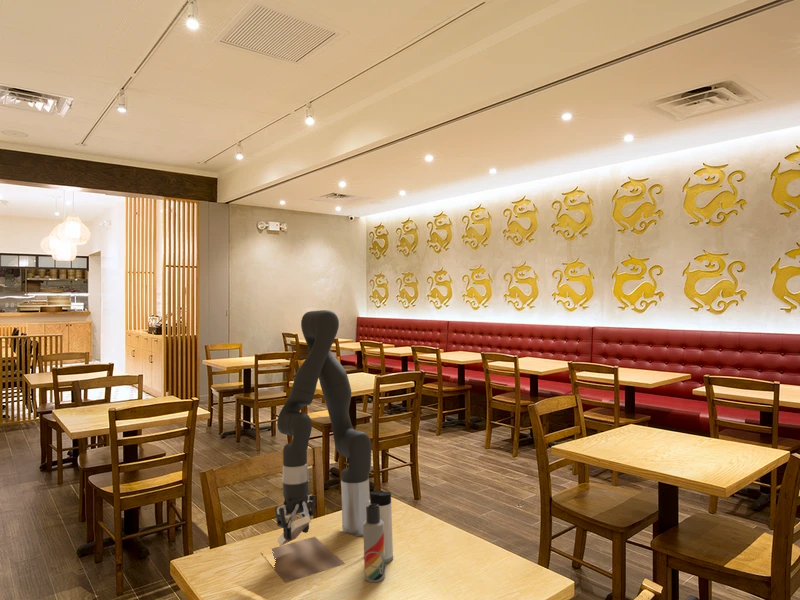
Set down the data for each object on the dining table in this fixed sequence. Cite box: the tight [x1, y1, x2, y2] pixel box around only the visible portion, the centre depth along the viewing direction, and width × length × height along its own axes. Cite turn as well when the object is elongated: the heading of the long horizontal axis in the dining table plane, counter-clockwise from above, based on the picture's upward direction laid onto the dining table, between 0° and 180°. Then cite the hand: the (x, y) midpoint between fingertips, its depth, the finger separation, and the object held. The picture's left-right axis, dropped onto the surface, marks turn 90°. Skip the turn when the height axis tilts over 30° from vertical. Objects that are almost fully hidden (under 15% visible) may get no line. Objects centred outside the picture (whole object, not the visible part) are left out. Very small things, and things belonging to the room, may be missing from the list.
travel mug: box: [369, 490, 394, 564], centre depth 158 cm, size 6×7×20 cm
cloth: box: [271, 536, 346, 583], centre depth 159 cm, size 18×22×1 cm
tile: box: [277, 515, 312, 546], centre depth 160 cm, size 2×6×10 cm
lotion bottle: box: [362, 503, 386, 583], centre depth 148 cm, size 6×6×20 cm
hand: (296, 535), depth 160 cm, fingers closed on tile, 6 cm apart
